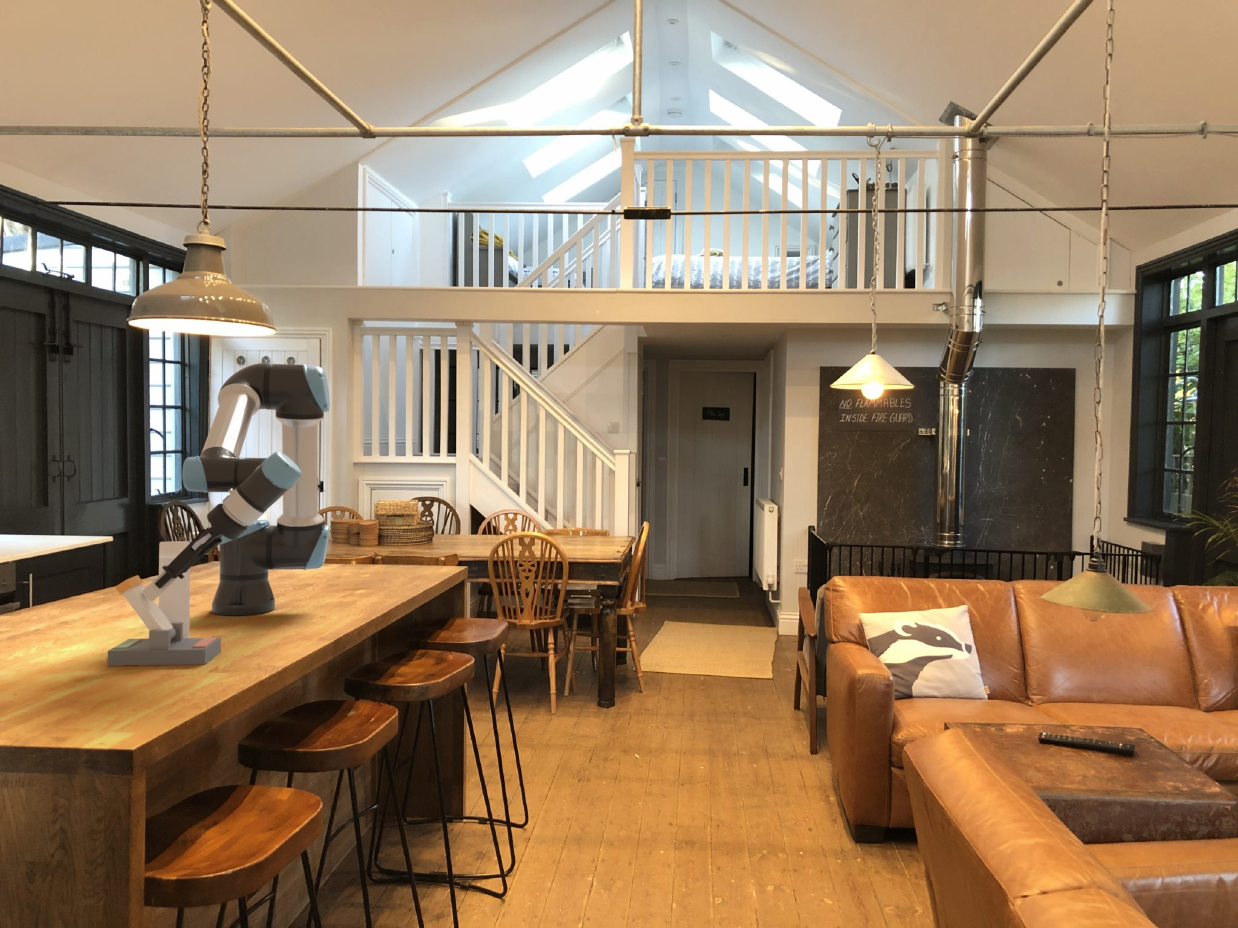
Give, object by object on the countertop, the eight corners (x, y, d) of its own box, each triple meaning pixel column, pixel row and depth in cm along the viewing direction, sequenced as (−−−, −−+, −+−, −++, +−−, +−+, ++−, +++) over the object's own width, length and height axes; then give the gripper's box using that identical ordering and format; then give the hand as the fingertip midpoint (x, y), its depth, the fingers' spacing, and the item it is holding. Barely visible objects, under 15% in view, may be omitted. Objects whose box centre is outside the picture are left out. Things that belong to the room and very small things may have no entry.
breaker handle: (180, 633, 173) (137, 575, 172) (170, 639, 168) (126, 579, 166) (169, 640, 173) (126, 582, 171) (159, 646, 168) (114, 586, 166)
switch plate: (220, 651, 177) (221, 620, 177) (205, 664, 167) (205, 631, 167) (128, 653, 174) (129, 621, 174) (107, 665, 164) (107, 632, 164)
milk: (189, 642, 185) (191, 542, 184) (158, 644, 182) (159, 543, 181) (188, 635, 190) (189, 539, 189) (157, 638, 187) (159, 540, 186)
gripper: (230, 499, 178) (145, 578, 175) (211, 504, 165) (119, 589, 162) (256, 524, 179) (172, 603, 176) (239, 530, 166) (148, 616, 164)
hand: (147, 596), depth 169 cm, fingers closed
